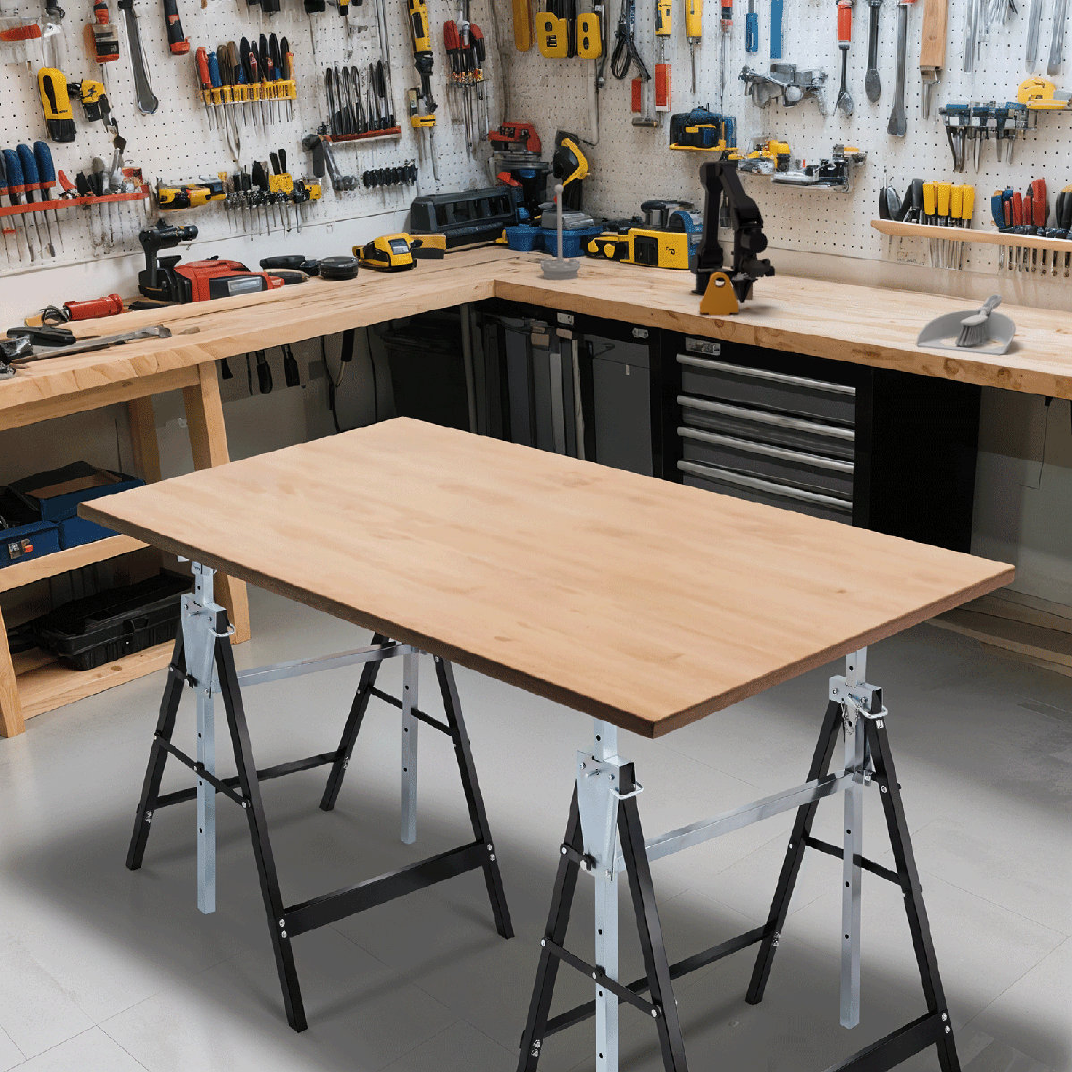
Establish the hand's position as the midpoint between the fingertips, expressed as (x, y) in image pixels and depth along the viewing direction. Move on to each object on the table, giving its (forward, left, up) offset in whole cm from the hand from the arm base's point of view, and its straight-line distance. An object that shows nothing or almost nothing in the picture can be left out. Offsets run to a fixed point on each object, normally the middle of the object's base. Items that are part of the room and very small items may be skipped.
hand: (742, 302), depth 393 cm
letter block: (-15, +10, -2) cm, 18 cm away
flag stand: (-78, -20, -2) cm, 80 cm away
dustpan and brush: (+63, +31, -2) cm, 70 cm away
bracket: (0, -8, -2) cm, 8 cm away
